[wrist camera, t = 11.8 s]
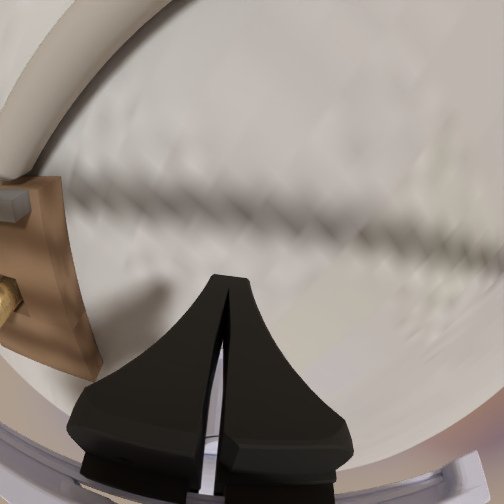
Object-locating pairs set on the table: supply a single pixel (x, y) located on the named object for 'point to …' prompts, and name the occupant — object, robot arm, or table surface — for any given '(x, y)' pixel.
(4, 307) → the brass cylinder
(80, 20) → the tube
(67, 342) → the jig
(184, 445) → the robot arm
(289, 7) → the table surface
